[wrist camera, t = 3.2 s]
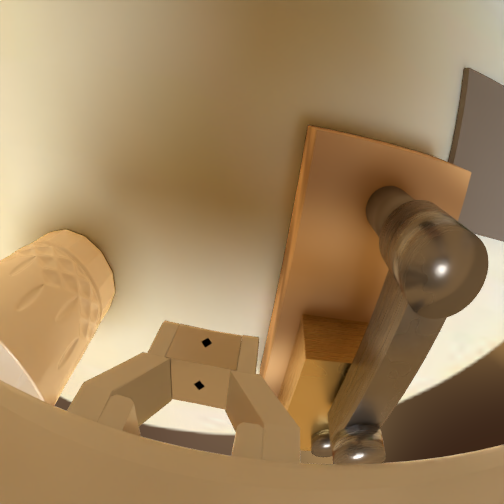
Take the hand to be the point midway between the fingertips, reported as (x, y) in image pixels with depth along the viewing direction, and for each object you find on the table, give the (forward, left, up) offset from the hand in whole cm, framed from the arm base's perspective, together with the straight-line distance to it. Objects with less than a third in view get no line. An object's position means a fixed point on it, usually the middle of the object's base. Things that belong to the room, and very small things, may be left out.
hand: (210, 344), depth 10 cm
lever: (-1, +6, -2) cm, 6 cm away
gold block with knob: (+5, +6, -5) cm, 9 cm away
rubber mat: (-8, +15, -9) cm, 19 cm away
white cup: (+4, -11, -9) cm, 15 cm away
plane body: (+1, +6, -9) cm, 11 cm away
